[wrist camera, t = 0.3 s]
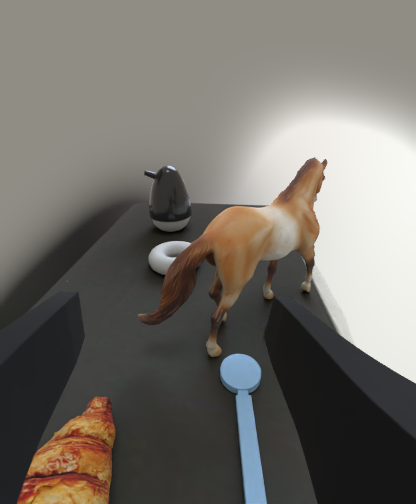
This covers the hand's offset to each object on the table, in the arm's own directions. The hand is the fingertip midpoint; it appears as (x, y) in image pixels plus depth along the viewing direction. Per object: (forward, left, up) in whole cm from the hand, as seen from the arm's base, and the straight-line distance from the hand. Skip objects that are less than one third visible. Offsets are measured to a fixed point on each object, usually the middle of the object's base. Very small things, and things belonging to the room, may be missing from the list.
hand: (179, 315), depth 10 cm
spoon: (+6, -5, -20) cm, 22 cm away
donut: (+36, +5, -20) cm, 42 cm away
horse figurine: (+24, -6, -20) cm, 32 cm away
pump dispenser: (+54, +8, -20) cm, 59 cm away
